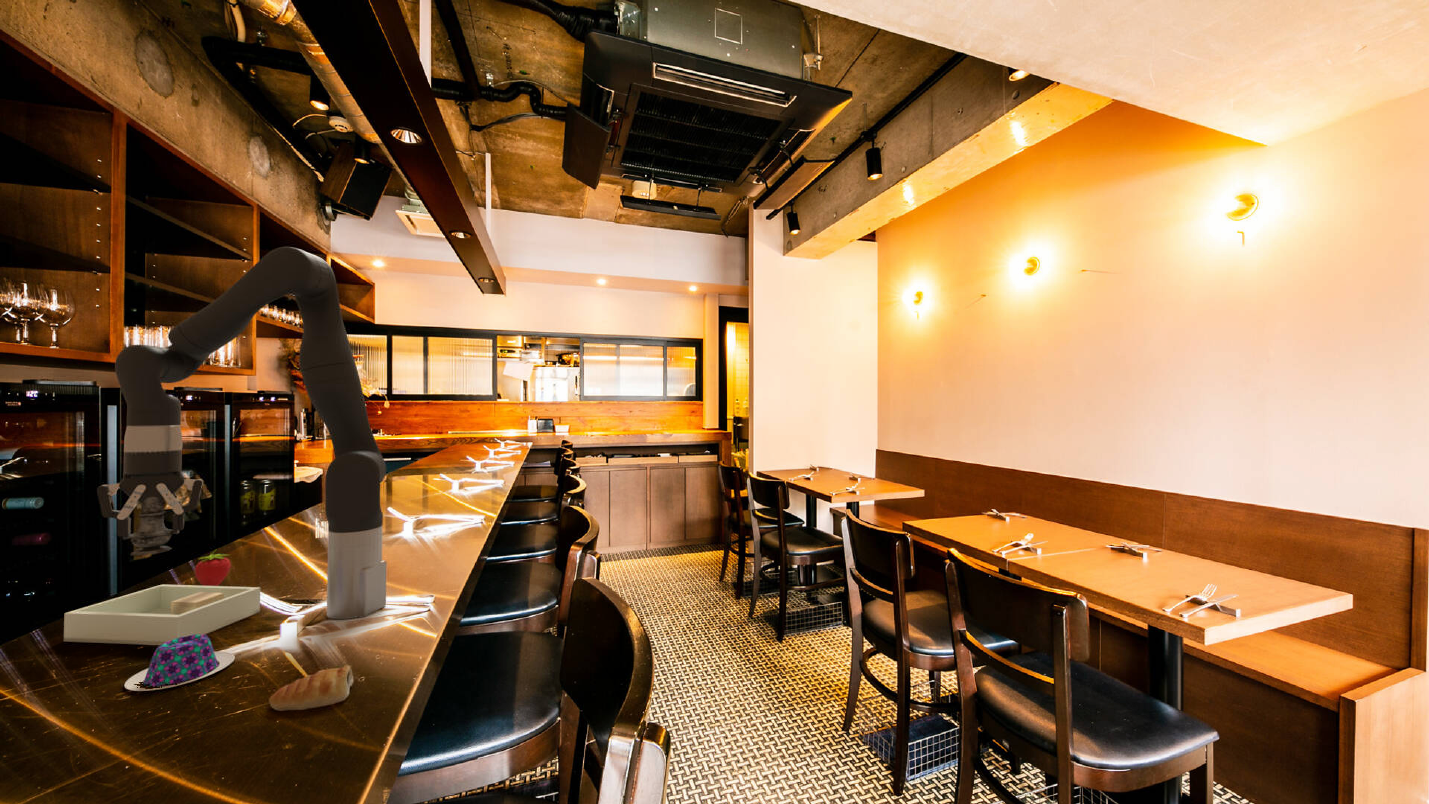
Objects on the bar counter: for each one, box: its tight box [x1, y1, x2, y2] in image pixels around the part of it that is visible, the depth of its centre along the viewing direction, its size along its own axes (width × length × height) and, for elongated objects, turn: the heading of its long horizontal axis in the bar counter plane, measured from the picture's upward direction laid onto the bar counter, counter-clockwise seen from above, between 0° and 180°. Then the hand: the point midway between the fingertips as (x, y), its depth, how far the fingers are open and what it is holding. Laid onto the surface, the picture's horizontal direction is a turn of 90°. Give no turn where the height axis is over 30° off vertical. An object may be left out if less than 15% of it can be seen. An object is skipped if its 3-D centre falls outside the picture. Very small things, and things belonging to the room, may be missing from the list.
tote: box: [63, 584, 261, 646], centre depth 97 cm, size 22×15×5 cm
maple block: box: [171, 592, 224, 615], centre depth 96 cm, size 5×5×5 cm
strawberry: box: [194, 550, 232, 586], centre depth 115 cm, size 6×8×10 cm
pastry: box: [268, 664, 355, 712], centre depth 73 cm, size 9×7×4 cm
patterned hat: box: [123, 634, 236, 692], centre depth 79 cm, size 12×12×5 cm
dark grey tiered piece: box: [129, 497, 173, 556], centre depth 97 cm, size 6×6×12 cm
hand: (151, 535), depth 97 cm, fingers closed on dark grey tiered piece, 6 cm apart
